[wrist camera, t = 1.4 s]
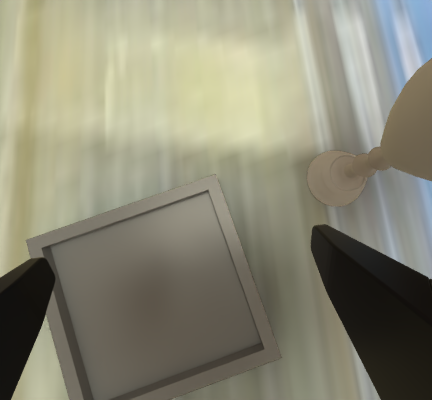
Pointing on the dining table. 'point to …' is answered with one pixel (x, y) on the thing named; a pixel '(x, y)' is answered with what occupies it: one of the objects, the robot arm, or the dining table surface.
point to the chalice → (382, 147)
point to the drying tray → (154, 298)
